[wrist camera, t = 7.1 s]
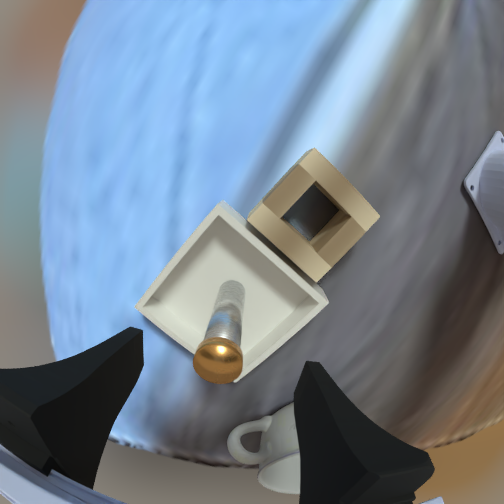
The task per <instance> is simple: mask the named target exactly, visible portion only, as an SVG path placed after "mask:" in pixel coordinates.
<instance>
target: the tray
mask: <svg viewBox="0 0 504 504" xmlns="http://www.w3.org/2000/svg"><path fill="white" fill-rule="evenodd" d="M229 280H235V281H238V282H240V283H241V284H242V285H243V286H244V288H245V303H244V314H243V324H242V335H241V345H240V349H241V350H242V353H243V368H242V373H241V375H240V376H239V377H238V378H237V379H236V380H234V381H233V382H235V383H236V382H237V381H238V380H240V379H241V378H242V377H244V376H245V375H246V374H247V373H249V372H250V371H251V370H252V369H254V368H255V367H256V366H257V365H259V364H260V363H261V362H262V361H264V360H265V359H266V358H267V357H268V356H270V355H271V354H272V353H273V352H274V351H276V350H277V349H278V348H279V347H280V346H282V345H283V344H284V343H285V342H286V341H287V340H289V339H290V338H291V337H292V336H293V335H294V334H295V333H297V332H298V331H299V330H300V329H301V328H302V327H303V326H304V325H306V324H307V323H308V322H309V321H310V320H311V319H312V318H313V317H314V316H315V315H317V314H318V313H319V312H320V311H321V310H322V309H323V308H324V307H325V306H326V305H327V304H328V303H329V301H328V299H327V297H326V295H325V293H324V291H323V289H322V288H321V287H320V286H319V285H318V284H317V283H316V282H315V281H314V280H312V279H311V278H310V277H309V276H308V275H307V274H306V273H305V272H304V271H303V270H301V269H300V268H299V267H298V266H297V265H296V264H295V263H294V262H293V261H292V260H290V259H289V258H288V257H287V256H286V255H285V254H284V253H283V252H282V251H280V250H279V249H278V248H277V247H276V246H275V245H274V244H273V243H272V242H270V241H269V240H268V239H267V238H266V237H265V236H264V235H263V234H261V233H260V232H259V231H258V230H257V229H256V228H255V227H254V226H252V225H251V224H250V223H249V222H248V221H247V220H246V219H245V218H243V217H242V216H241V215H240V214H239V213H238V212H237V211H235V210H234V209H233V208H232V207H231V206H230V205H229V204H227V203H226V202H225V201H224V200H222V201H221V202H219V203H218V204H217V205H216V206H215V207H214V209H213V210H212V211H211V212H210V213H209V214H208V216H207V217H206V218H205V219H204V220H203V221H202V223H201V224H200V225H199V226H198V227H197V229H196V230H195V231H194V232H193V233H192V235H191V236H190V237H189V238H188V239H187V241H186V242H185V243H184V244H183V245H182V247H181V248H180V249H179V250H178V252H177V253H176V254H175V255H174V257H173V258H172V259H171V260H170V262H169V263H168V264H167V265H166V267H165V268H164V269H163V270H162V272H161V273H160V274H159V275H158V277H157V278H156V279H155V281H154V282H153V283H152V284H151V286H150V287H149V288H148V290H147V291H146V292H145V294H144V295H143V296H142V297H141V299H140V300H139V301H138V303H137V304H136V305H135V308H136V309H137V310H138V311H139V312H141V313H142V314H143V315H144V316H145V317H147V318H148V319H149V320H150V321H151V322H153V323H154V324H155V325H156V326H158V327H159V328H160V329H161V330H163V331H164V332H165V333H166V334H168V335H169V336H170V337H172V338H173V339H174V340H175V341H177V342H178V343H179V344H181V345H182V346H183V347H185V348H186V349H187V350H189V351H190V352H191V353H193V354H194V355H195V352H196V349H197V347H198V345H199V344H200V343H201V342H202V341H203V340H204V337H205V333H206V330H207V327H208V324H209V320H210V317H211V314H212V311H213V308H214V304H215V301H216V298H217V295H218V292H219V288H220V286H221V285H222V284H223V283H224V282H226V281H229Z"/></svg>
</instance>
